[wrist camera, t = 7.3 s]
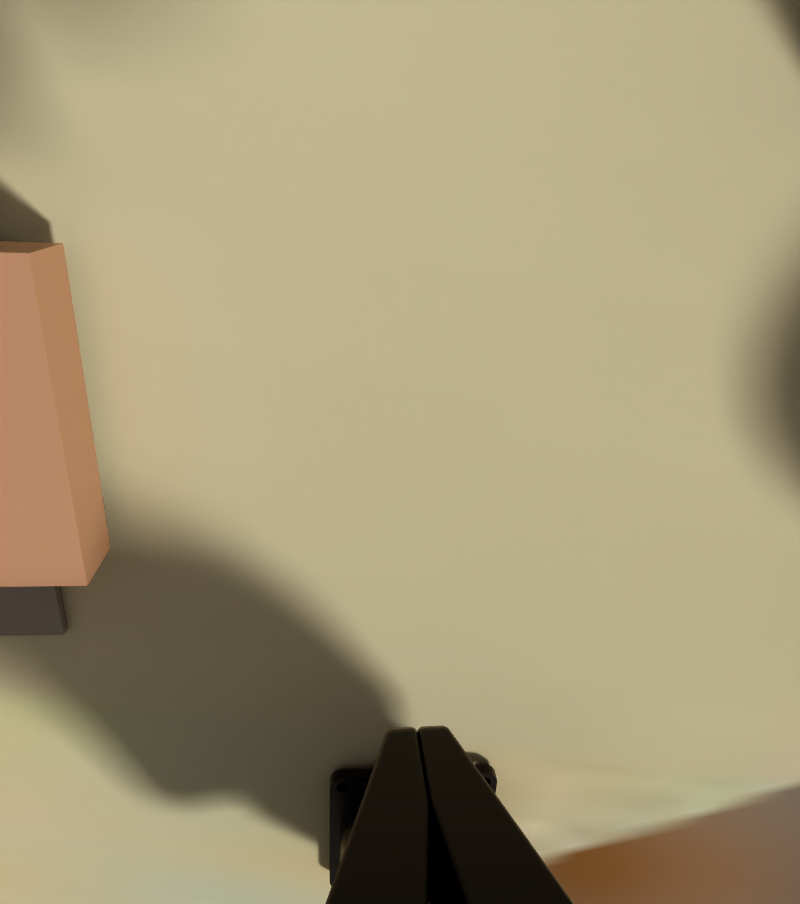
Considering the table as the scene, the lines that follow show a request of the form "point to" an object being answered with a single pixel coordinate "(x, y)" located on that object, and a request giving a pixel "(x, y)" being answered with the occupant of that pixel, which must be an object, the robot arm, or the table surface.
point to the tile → (45, 428)
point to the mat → (31, 611)
